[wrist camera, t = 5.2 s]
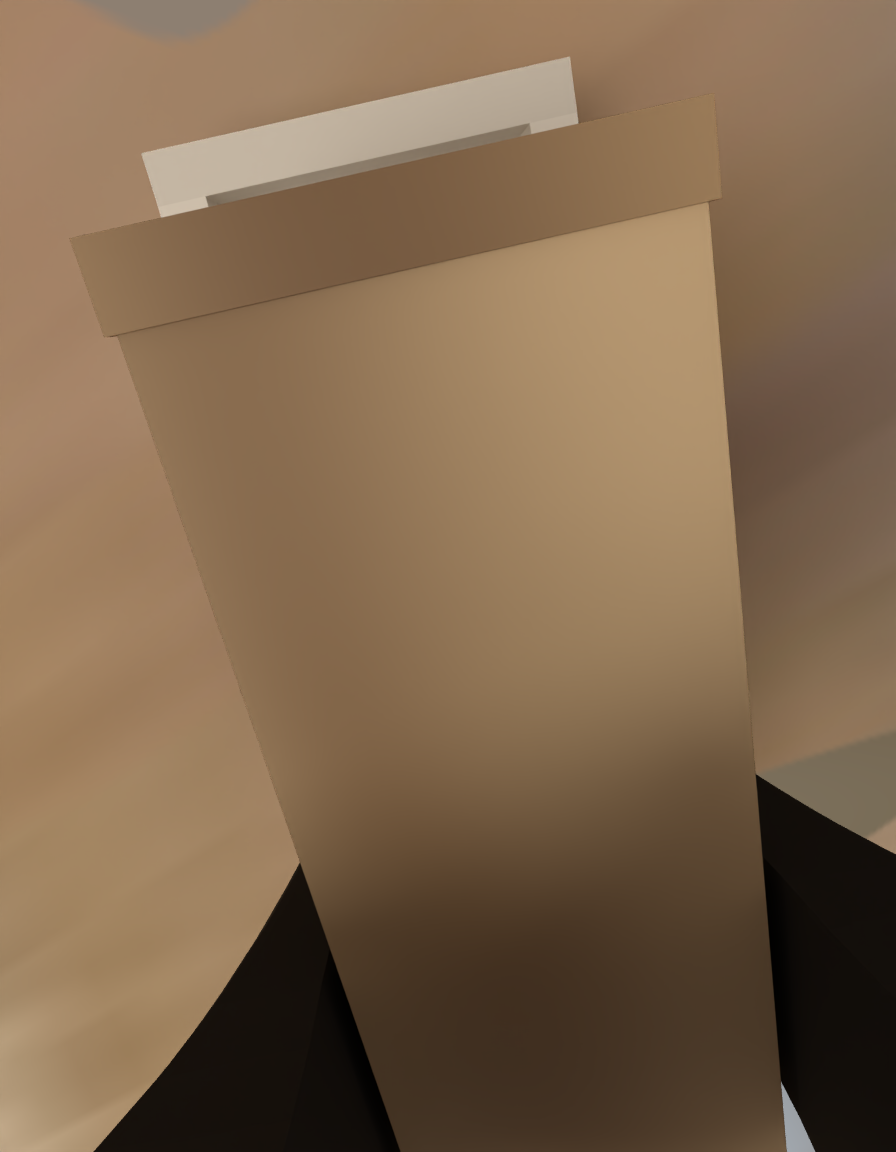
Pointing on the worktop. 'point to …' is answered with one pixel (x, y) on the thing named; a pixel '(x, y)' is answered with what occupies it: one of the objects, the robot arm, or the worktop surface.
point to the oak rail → (487, 614)
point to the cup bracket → (362, 137)
